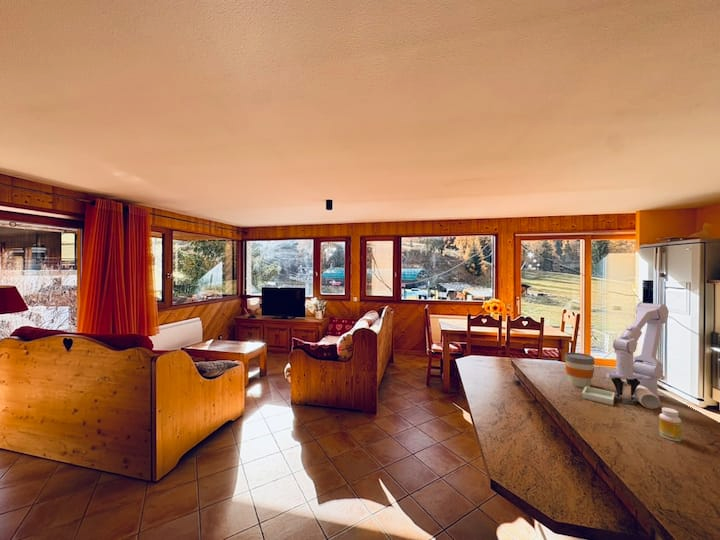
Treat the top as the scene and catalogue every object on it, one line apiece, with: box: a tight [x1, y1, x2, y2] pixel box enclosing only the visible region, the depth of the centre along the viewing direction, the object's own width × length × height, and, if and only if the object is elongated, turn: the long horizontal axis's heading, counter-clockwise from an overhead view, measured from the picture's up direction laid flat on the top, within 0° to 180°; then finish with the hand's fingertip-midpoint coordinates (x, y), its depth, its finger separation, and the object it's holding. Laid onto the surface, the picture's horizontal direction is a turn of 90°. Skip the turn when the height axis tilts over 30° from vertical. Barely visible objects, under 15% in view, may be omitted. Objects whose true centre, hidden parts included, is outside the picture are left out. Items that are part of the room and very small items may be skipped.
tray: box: [581, 386, 616, 406], centre depth 135 cm, size 11×11×2 cm
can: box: [633, 385, 661, 410], centre depth 129 cm, size 6×6×12 cm
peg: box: [619, 381, 631, 400], centre depth 132 cm, size 4×4×8 cm
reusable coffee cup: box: [564, 352, 595, 389], centre depth 151 cm, size 13×12×15 cm
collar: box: [614, 392, 639, 406], centre depth 132 cm, size 8×8×2 cm
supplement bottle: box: [658, 407, 683, 442], centre depth 103 cm, size 5×5×10 cm
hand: (625, 394), depth 132 cm, fingers closed on peg, 4 cm apart
